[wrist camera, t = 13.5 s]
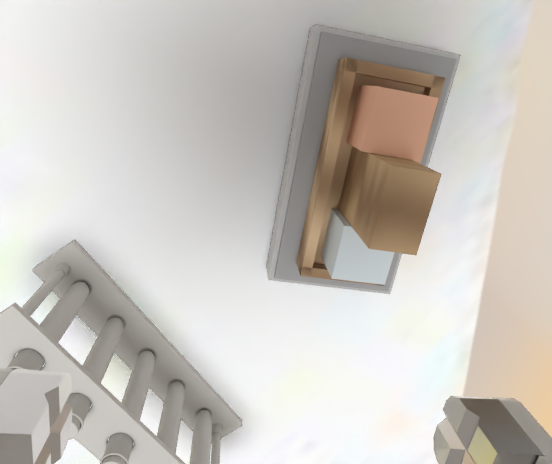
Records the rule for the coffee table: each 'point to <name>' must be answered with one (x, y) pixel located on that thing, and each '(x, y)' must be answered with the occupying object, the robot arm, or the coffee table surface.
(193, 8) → the coffee table surface
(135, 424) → the test tube rack
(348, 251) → the pale blue cube
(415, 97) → the block
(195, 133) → the coffee table surface
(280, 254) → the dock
